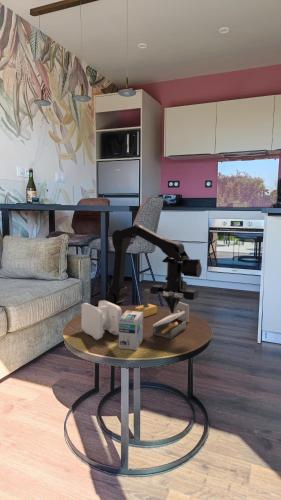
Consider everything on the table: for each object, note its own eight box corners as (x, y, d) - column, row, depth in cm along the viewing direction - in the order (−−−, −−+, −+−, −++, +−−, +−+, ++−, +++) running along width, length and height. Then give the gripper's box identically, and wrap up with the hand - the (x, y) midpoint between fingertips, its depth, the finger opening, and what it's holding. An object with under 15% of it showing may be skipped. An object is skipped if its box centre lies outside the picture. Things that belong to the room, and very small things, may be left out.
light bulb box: (137, 350, 113) (137, 320, 112) (117, 348, 114) (118, 318, 113) (143, 339, 124) (143, 311, 123) (125, 337, 125) (126, 309, 124)
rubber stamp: (143, 317, 150) (144, 291, 149) (134, 315, 154) (134, 289, 153) (157, 313, 158) (158, 288, 157) (148, 310, 161) (148, 286, 160)
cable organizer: (79, 330, 132) (80, 301, 131) (102, 325, 138) (103, 298, 137) (98, 342, 120) (98, 311, 119) (122, 336, 126) (123, 306, 125)
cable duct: (153, 334, 129) (153, 327, 129) (168, 324, 141) (168, 318, 141) (171, 338, 125) (172, 331, 125) (185, 328, 137) (186, 321, 137)
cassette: (189, 321, 146) (190, 304, 145) (186, 322, 145) (187, 305, 144) (171, 315, 155) (171, 299, 155) (168, 315, 154) (168, 299, 154)
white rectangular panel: (153, 326, 129) (152, 324, 129) (168, 317, 141) (167, 315, 141) (170, 321, 125) (169, 319, 125) (184, 312, 137) (184, 310, 137)
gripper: (203, 274, 132) (202, 312, 134) (162, 269, 142) (160, 305, 143) (193, 278, 123) (192, 319, 124) (149, 272, 132) (148, 311, 134)
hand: (172, 313), depth 132 cm, fingers closed
